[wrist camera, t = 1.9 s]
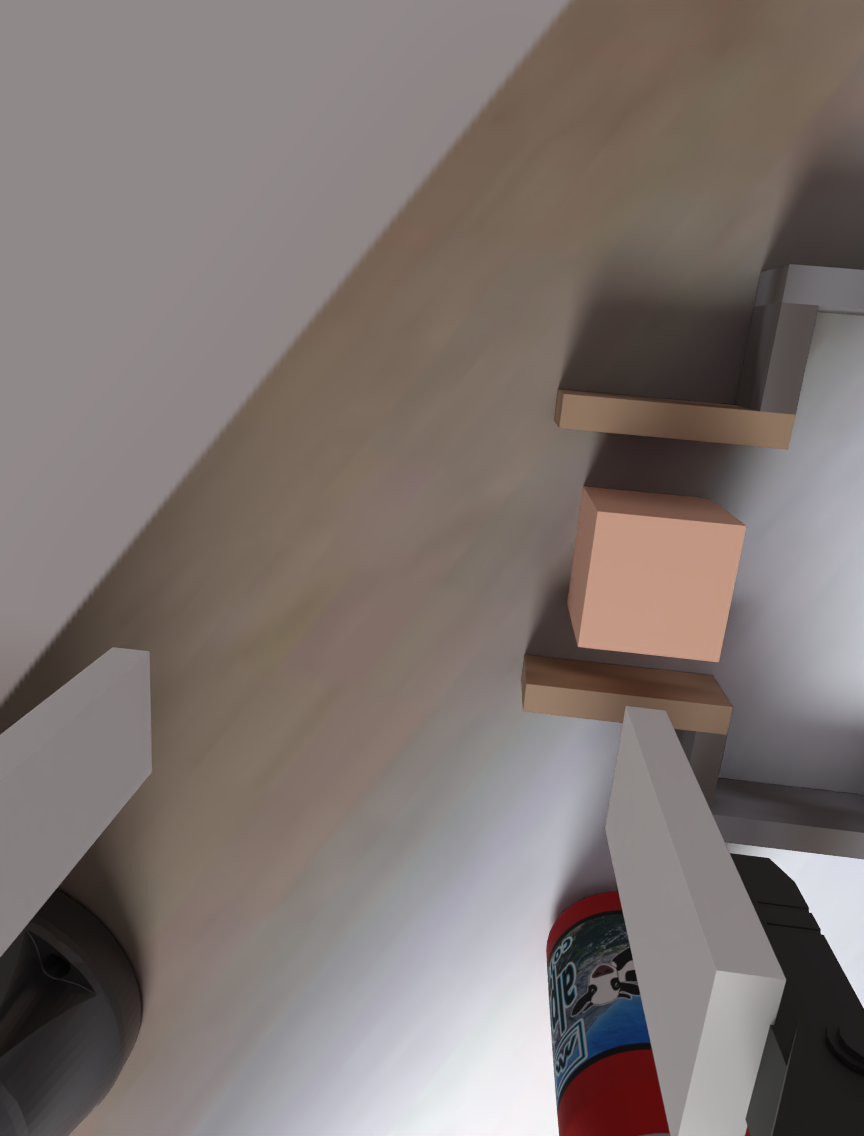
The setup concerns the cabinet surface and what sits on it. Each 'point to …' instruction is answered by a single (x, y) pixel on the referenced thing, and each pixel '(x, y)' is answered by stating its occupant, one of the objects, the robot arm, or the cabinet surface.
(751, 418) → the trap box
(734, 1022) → the robot arm
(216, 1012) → the cabinet surface
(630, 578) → the block
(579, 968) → the beverage can
